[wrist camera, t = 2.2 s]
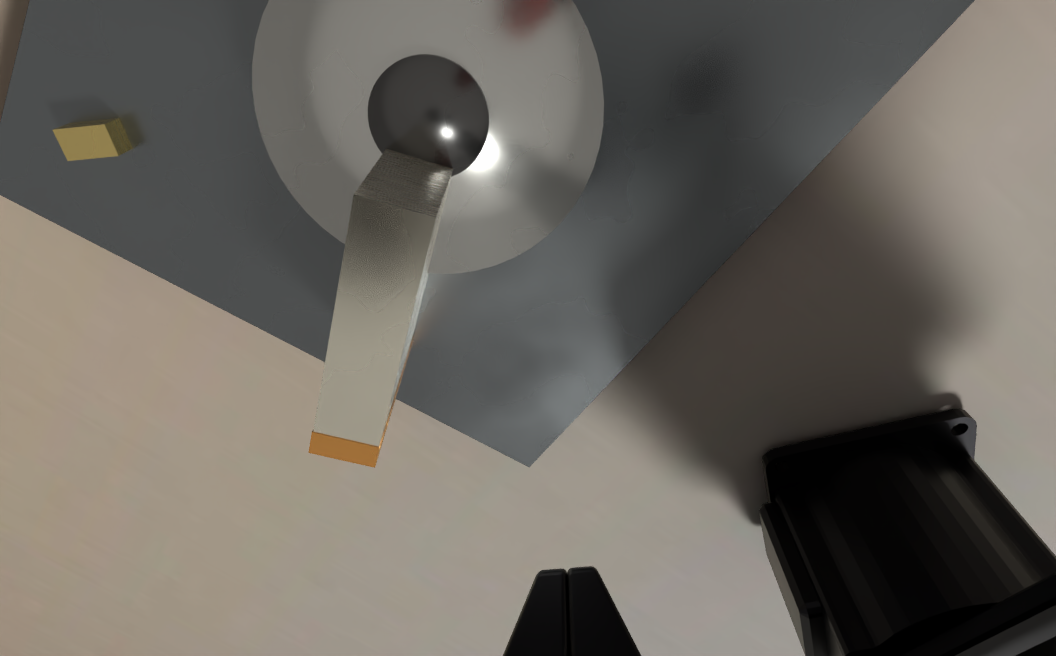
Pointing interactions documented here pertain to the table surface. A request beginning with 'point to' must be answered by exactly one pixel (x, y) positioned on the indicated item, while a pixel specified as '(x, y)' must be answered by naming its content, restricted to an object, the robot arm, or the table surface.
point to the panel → (477, 296)
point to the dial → (419, 161)
